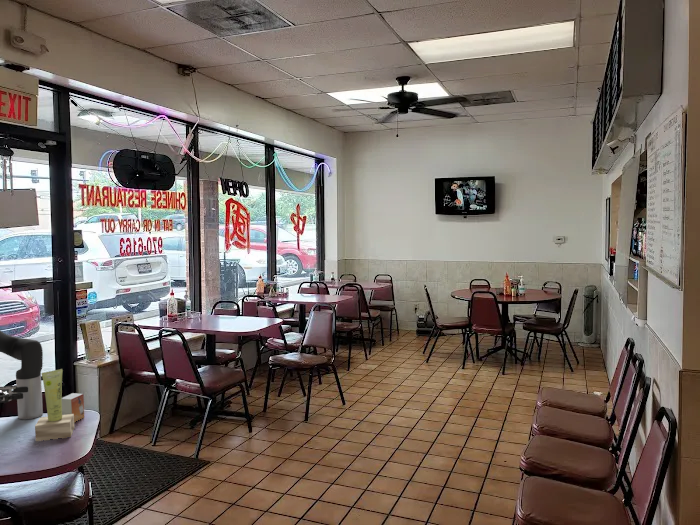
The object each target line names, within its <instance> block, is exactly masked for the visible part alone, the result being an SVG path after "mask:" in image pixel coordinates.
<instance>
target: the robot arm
mask: <svg viewBox="0 0 700 525" xmlns="http://www.w3.org/2000/svg"><path fill="white" fill-rule="evenodd" d="M0 353H1V354H4V355H7V356H8V357H11V358H12V359H15V360H17V361H20V362H21V366H20V369H18V370H16V372H15V383H16V385H7V386H5V385H4V386H0V404H5V403H9V402H10V401H12V400H13V401H15V400H16V401H17V402H16V403H17V404H16V405H17V417H18V419H20V420H32V419H36V418H40V417H42V415H44V411H43V407H44V406H43V392H42V389H43V388H42V369H43V364H44V363H43V359H44V358H43V346H42V344H41V343H40V342H39V341H38V340H35V339H32V338H31V339H30V338H24V337H22V338H21V337H17V336H13V335H9V334H7V333H4V332H3V331H2V330H0Z"/></svg>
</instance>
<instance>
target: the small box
mask: <svg viewBox="0 0 700 525" xmlns="http://www.w3.org/2000/svg"><path fill="white" fill-rule="evenodd" d="M84 398H85V397H84V393H76V392H75V393H74V392H72V393H70V394H68V395H65V396H62V415H67V414H74V424H75V423H77V422H78V420H79V421H81V420H83V419H85V401H84V400H85V399H84ZM82 418H83V419H82ZM80 419H81V420H80ZM76 421H77V422H76Z"/></svg>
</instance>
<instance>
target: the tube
mask: <svg viewBox="0 0 700 525" xmlns="http://www.w3.org/2000/svg"><path fill="white" fill-rule="evenodd" d="M63 371H64V370H63V368H60V369H55V370H50V371H44V372H41V379H42V382H43V388H44V396H45V403H46V410H47V411H46V413H47V417H48V421H51V422H52V421H58V420H60V419H62V398H63V396H62V393H63V390H62V386H63V384H62V383H63Z"/></svg>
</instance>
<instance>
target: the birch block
mask: <svg viewBox="0 0 700 525" xmlns="http://www.w3.org/2000/svg"><path fill="white" fill-rule="evenodd" d="M34 430H35V433H34V434H35V442H44V441H51V440H50V439H53V440H59V439H58V438H62V439H68V438H67V437H70V438H72V436H73V433H74V431H75V423H74V414H67V415H62V419H60V420H58V421H52V422H51V421H48V416H40V417H39V419H38V420H37V422H36V423H35V425H34ZM73 430H74V431H73ZM71 435H72V436H71ZM43 440H44V441H43Z"/></svg>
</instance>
